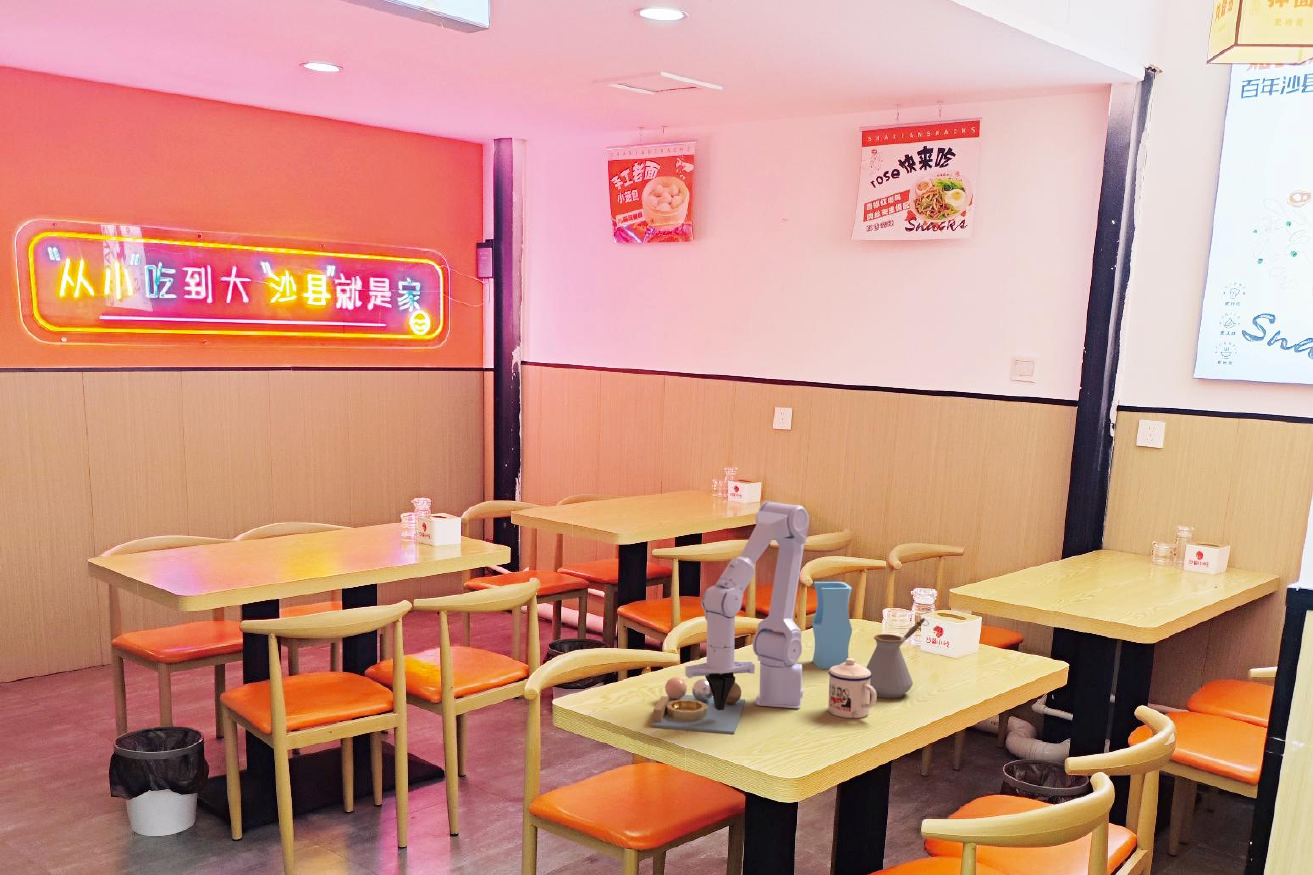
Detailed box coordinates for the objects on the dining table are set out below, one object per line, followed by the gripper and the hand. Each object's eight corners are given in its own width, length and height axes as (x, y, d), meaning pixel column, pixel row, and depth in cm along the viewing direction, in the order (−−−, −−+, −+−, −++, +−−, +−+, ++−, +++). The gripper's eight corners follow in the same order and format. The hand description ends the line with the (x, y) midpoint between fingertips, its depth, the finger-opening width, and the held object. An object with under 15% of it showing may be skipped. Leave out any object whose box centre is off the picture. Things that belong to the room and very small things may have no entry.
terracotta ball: (688, 696, 238) (688, 675, 238) (684, 703, 233) (685, 681, 233) (666, 694, 239) (667, 673, 238) (663, 701, 234) (663, 679, 234)
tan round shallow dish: (712, 711, 228) (712, 702, 228) (697, 723, 221) (697, 714, 220) (676, 705, 232) (676, 697, 232) (660, 716, 224) (660, 708, 224)
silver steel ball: (715, 698, 237) (715, 677, 236) (712, 705, 232) (712, 683, 232) (693, 696, 238) (694, 675, 237) (690, 703, 233) (690, 681, 233)
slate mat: (745, 701, 237) (745, 688, 236) (734, 733, 216) (734, 719, 216) (669, 695, 240) (669, 682, 240) (651, 726, 219) (651, 712, 219)
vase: (811, 659, 271) (813, 581, 269) (841, 659, 271) (844, 581, 270) (819, 669, 263) (821, 588, 261) (850, 668, 264) (853, 588, 262)
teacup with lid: (818, 710, 232) (820, 657, 231) (848, 702, 237) (849, 651, 236) (859, 726, 222) (861, 670, 221) (889, 718, 228) (891, 664, 227)
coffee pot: (894, 704, 237) (896, 637, 236) (850, 692, 245) (853, 627, 244) (944, 684, 252) (947, 622, 251) (902, 674, 260) (904, 613, 259)
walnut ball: (742, 700, 236) (742, 679, 235) (739, 707, 231) (740, 685, 231) (720, 698, 237) (721, 677, 236) (717, 705, 232) (718, 684, 231)
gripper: (746, 637, 228) (745, 699, 229) (681, 641, 224) (680, 704, 225) (758, 646, 221) (757, 710, 222) (691, 650, 217) (690, 716, 218)
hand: (719, 708), depth 223 cm, fingers closed
